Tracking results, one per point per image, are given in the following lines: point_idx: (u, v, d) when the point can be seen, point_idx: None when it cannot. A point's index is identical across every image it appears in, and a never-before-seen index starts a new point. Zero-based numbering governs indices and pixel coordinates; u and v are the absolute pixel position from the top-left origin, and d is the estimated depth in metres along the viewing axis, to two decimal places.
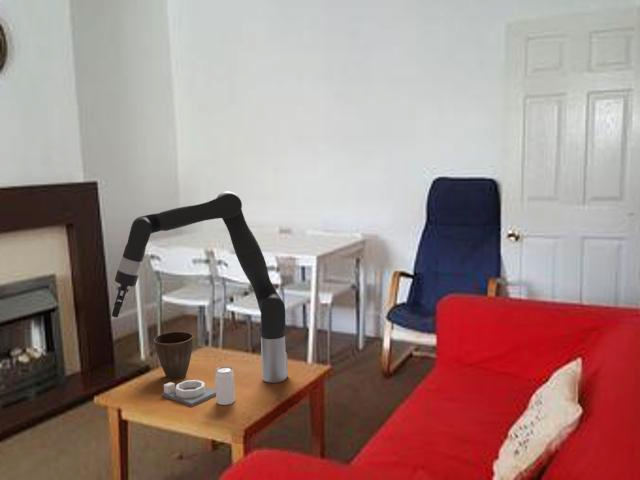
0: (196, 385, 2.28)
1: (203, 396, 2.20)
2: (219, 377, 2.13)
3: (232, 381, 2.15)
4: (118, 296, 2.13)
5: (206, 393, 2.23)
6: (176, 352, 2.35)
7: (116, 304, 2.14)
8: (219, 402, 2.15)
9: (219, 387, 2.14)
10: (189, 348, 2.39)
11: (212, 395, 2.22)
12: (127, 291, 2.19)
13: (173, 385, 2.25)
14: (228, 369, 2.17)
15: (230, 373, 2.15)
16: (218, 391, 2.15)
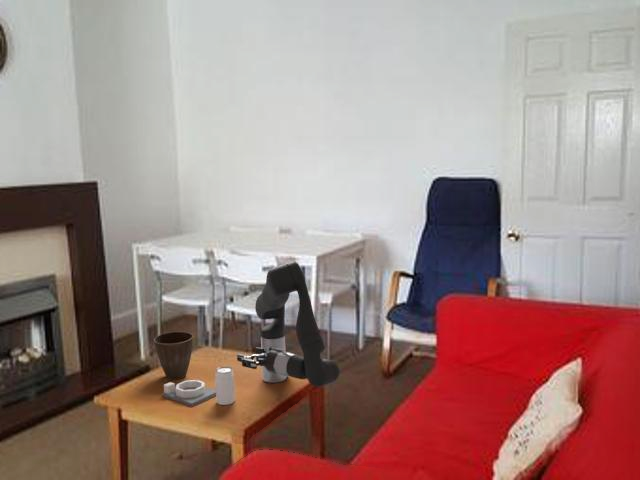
0: (196, 385, 2.28)
1: (203, 396, 2.20)
2: (219, 377, 2.13)
3: (232, 381, 2.15)
4: None
5: (206, 393, 2.23)
6: (176, 352, 2.35)
7: None
8: (219, 402, 2.15)
9: (219, 387, 2.14)
10: (189, 348, 2.39)
11: (212, 395, 2.22)
12: None
13: (173, 385, 2.25)
14: (228, 369, 2.17)
15: (230, 373, 2.15)
16: (218, 391, 2.15)
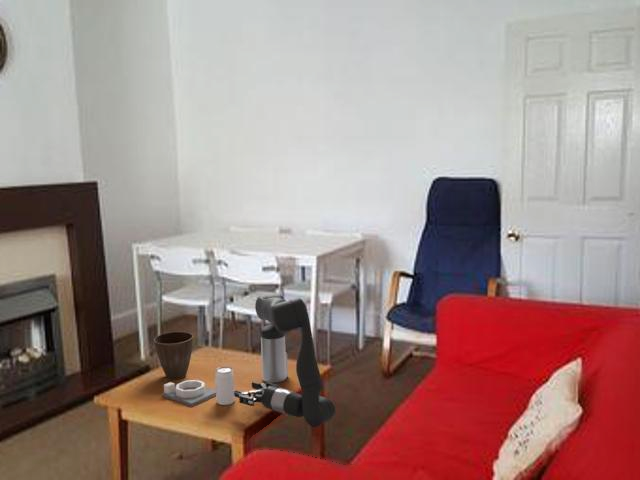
0: (196, 385, 2.28)
1: (203, 396, 2.20)
2: (219, 377, 2.13)
3: (232, 381, 2.15)
4: None
5: (206, 393, 2.23)
6: (176, 352, 2.35)
7: None
8: (219, 402, 2.15)
9: (219, 387, 2.14)
10: (189, 348, 2.39)
11: (212, 395, 2.22)
12: (267, 388, 2.07)
13: (173, 385, 2.25)
14: (228, 369, 2.17)
15: (230, 373, 2.15)
16: (218, 391, 2.15)
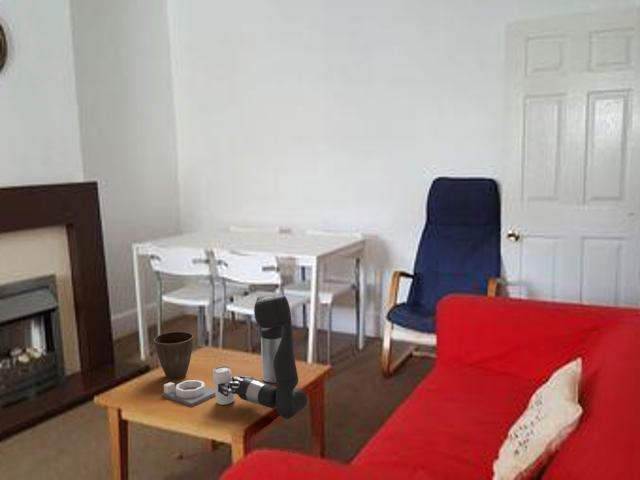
0: (196, 385, 2.28)
1: (203, 396, 2.20)
2: (217, 377, 2.13)
3: (230, 380, 2.15)
4: None
5: (206, 393, 2.23)
6: (176, 352, 2.35)
7: None
8: (219, 402, 2.15)
9: None
10: (189, 348, 2.39)
11: (212, 395, 2.22)
12: None
13: (173, 385, 2.25)
14: (225, 369, 2.17)
15: (228, 373, 2.14)
16: (217, 392, 2.15)
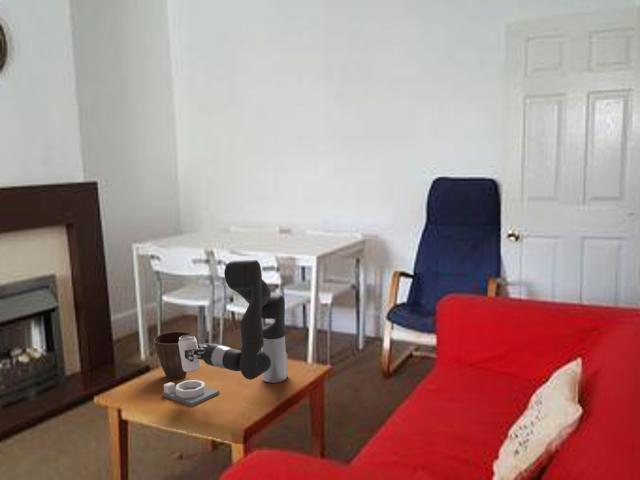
0: (196, 385, 2.28)
1: (203, 396, 2.20)
2: (182, 344, 2.17)
3: (196, 347, 2.19)
4: None
5: (206, 393, 2.23)
6: (176, 352, 2.35)
7: None
8: (185, 369, 2.18)
9: (183, 355, 2.17)
10: None
11: (212, 395, 2.22)
12: None
13: (173, 385, 2.25)
14: (191, 336, 2.20)
15: (193, 340, 2.18)
16: (182, 359, 2.18)
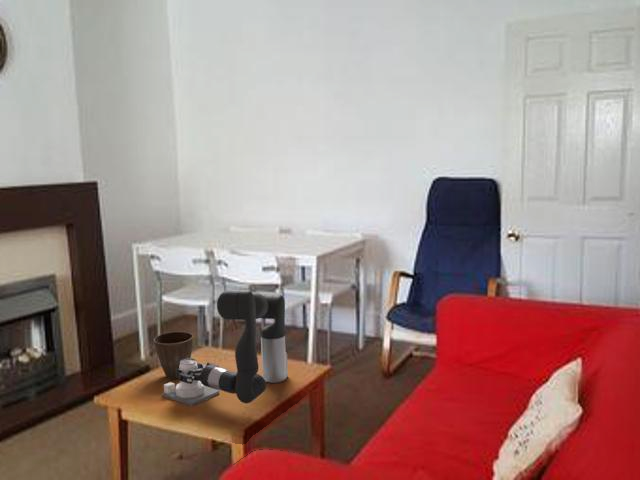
0: None
1: (203, 396, 2.20)
2: (183, 368, 2.19)
3: None
4: None
5: (206, 393, 2.23)
6: (176, 352, 2.35)
7: None
8: None
9: None
10: (189, 348, 2.39)
11: (212, 395, 2.22)
12: None
13: (173, 385, 2.25)
14: (192, 361, 2.22)
15: (193, 365, 2.20)
16: (182, 382, 2.20)
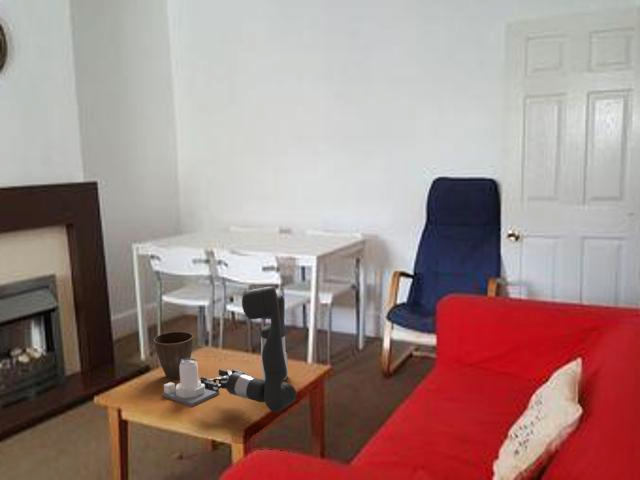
0: None
1: (203, 396, 2.20)
2: (183, 368, 2.19)
3: (196, 372, 2.21)
4: None
5: (206, 393, 2.23)
6: (176, 352, 2.35)
7: None
8: None
9: (183, 378, 2.20)
10: (189, 348, 2.39)
11: (212, 395, 2.22)
12: None
13: (173, 385, 2.25)
14: (192, 361, 2.23)
15: (194, 365, 2.20)
16: (182, 382, 2.21)
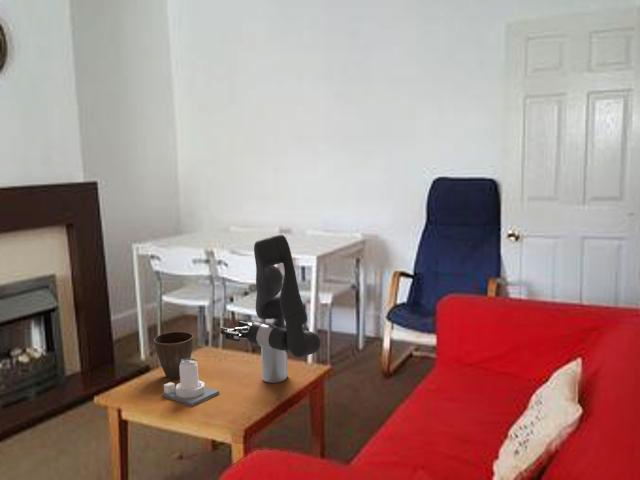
0: None
1: (203, 396, 2.20)
2: (183, 368, 2.19)
3: (196, 372, 2.21)
4: None
5: (206, 393, 2.23)
6: (176, 352, 2.35)
7: None
8: None
9: (183, 378, 2.20)
10: (189, 348, 2.39)
11: (212, 395, 2.22)
12: None
13: (173, 385, 2.25)
14: (192, 361, 2.23)
15: (194, 364, 2.20)
16: (182, 382, 2.21)
